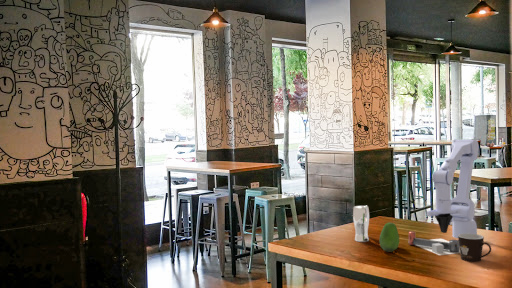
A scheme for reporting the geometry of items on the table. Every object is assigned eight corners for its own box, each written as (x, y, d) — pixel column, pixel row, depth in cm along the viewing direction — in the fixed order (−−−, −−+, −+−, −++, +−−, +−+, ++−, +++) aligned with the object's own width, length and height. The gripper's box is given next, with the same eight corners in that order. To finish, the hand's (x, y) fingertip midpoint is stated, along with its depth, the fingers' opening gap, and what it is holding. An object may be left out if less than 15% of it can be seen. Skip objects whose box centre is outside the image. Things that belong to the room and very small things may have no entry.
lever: (461, 250, 189) (460, 238, 188) (457, 252, 186) (457, 239, 186) (411, 242, 203) (411, 230, 203) (407, 244, 201) (406, 232, 200)
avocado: (400, 254, 193) (400, 224, 192) (380, 254, 194) (379, 224, 194) (398, 249, 201) (397, 220, 200) (378, 248, 202) (378, 220, 202)
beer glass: (369, 242, 213) (369, 208, 213) (353, 242, 215) (352, 208, 214) (369, 238, 220) (368, 205, 220) (353, 238, 222) (353, 205, 221)
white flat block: (441, 241, 210) (441, 231, 210) (475, 255, 189) (475, 243, 189) (408, 245, 206) (407, 234, 206) (439, 259, 185) (439, 247, 185)
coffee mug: (453, 260, 182) (453, 234, 182) (476, 259, 183) (475, 233, 183) (470, 269, 171) (469, 241, 170) (493, 268, 171) (493, 240, 171)
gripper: (452, 196, 205) (452, 228, 206) (421, 199, 201) (422, 231, 202) (463, 199, 198) (463, 232, 199) (432, 202, 194) (432, 235, 195)
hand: (443, 232), depth 200 cm, fingers closed
